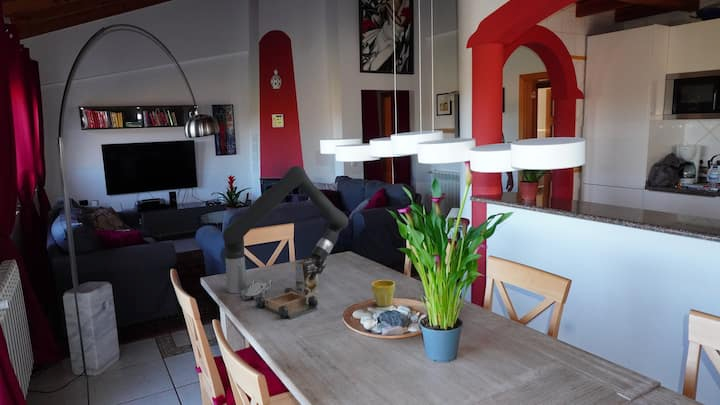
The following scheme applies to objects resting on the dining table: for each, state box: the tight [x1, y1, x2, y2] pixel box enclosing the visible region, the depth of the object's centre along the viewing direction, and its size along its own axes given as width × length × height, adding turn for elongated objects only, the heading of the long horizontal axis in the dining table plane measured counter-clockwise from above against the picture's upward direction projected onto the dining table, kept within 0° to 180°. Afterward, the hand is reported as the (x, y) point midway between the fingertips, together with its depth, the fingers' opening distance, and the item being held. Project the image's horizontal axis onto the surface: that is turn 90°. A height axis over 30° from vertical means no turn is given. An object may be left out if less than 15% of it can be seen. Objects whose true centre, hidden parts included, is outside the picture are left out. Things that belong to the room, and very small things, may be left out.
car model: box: [241, 279, 273, 301], centre depth 244 cm, size 11×24×5 cm, turn 177°
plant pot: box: [371, 279, 396, 308], centre depth 222 cm, size 10×10×10 cm
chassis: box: [255, 286, 319, 320], centre depth 223 cm, size 26×17×5 cm, turn 43°
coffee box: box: [294, 259, 319, 299], centre depth 239 cm, size 9×6×16 cm
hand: (304, 277), depth 238 cm, fingers open, 8 cm apart
